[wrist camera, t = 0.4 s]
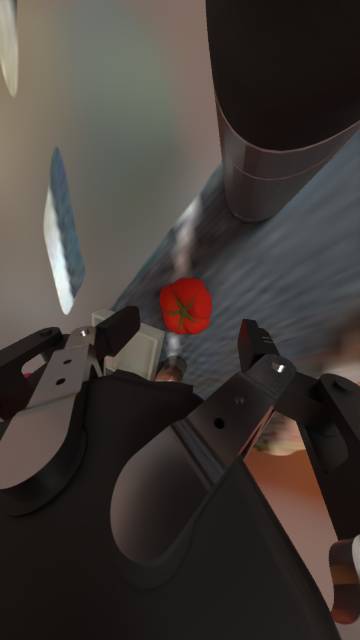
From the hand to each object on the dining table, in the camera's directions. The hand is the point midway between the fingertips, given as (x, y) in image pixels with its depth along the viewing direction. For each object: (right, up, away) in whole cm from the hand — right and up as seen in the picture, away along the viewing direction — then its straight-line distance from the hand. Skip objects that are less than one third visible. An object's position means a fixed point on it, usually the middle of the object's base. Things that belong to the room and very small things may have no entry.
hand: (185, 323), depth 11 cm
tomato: (+2, +4, +20) cm, 20 cm away
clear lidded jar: (-1, -11, +27) cm, 29 cm away
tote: (-14, -7, +29) cm, 33 cm away
